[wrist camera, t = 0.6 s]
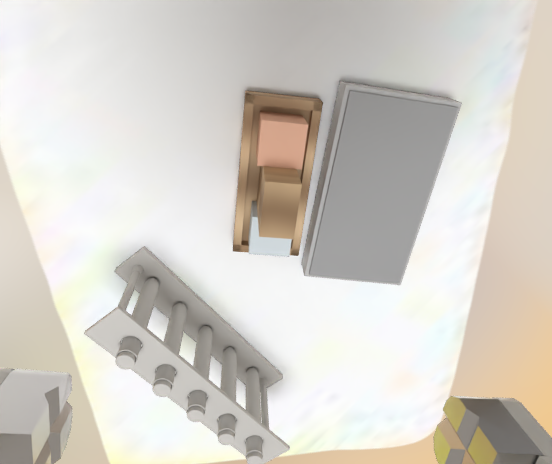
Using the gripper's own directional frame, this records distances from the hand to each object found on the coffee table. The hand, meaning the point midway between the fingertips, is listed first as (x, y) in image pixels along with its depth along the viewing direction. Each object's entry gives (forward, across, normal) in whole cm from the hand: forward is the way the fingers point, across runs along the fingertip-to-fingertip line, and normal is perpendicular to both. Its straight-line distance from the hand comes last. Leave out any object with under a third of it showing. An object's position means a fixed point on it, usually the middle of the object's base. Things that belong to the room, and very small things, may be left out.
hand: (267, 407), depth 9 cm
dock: (+35, -14, +3) cm, 38 cm away
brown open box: (+36, -4, +3) cm, 36 cm away
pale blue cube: (+34, -4, +7) cm, 35 cm away
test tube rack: (+38, +1, +23) cm, 44 cm away
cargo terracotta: (+34, -3, -2) cm, 34 cm away
